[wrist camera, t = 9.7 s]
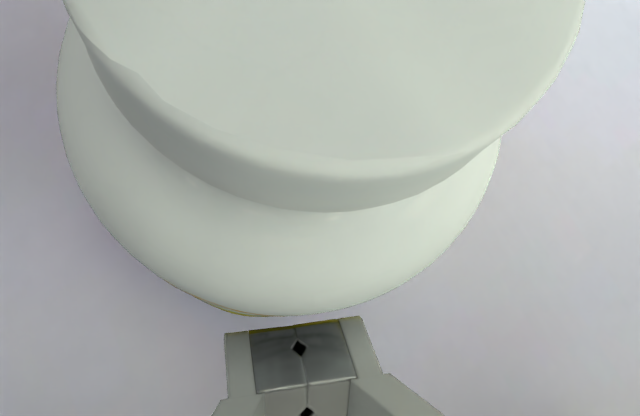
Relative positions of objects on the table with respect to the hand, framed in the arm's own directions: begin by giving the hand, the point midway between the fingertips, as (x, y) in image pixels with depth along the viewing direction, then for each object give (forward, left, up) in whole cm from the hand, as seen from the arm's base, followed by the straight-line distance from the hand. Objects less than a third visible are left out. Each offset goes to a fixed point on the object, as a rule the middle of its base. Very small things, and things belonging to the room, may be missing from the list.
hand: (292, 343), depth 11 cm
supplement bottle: (0, +4, -5) cm, 6 cm away
